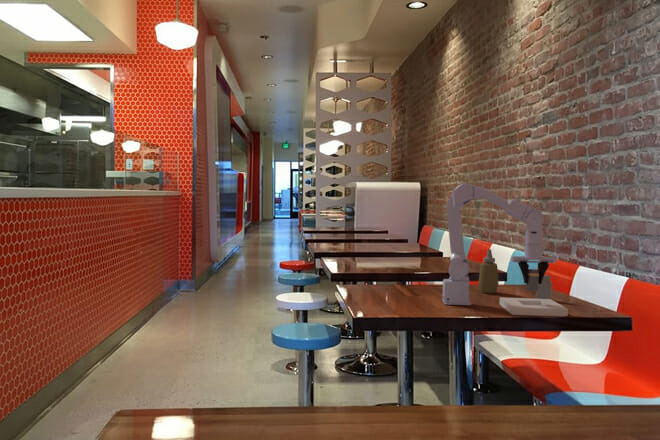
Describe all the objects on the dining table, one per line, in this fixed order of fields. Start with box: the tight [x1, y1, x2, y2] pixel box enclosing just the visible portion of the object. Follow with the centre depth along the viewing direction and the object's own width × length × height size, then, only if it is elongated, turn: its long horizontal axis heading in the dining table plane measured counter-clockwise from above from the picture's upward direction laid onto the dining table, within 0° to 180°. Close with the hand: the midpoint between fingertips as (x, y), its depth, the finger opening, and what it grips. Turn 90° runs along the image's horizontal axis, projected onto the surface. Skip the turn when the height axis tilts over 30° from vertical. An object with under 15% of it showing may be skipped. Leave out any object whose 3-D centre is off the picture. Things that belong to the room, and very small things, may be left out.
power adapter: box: [535, 274, 553, 300], centre depth 206 cm, size 3×5×12 cm, turn 58°
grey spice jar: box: [525, 268, 539, 292], centre depth 187 cm, size 4×4×7 cm
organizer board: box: [499, 297, 569, 317], centre depth 187 cm, size 18×18×2 cm
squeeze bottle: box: [478, 248, 500, 295], centre depth 221 cm, size 8×8×18 cm
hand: (532, 283), depth 186 cm, fingers closed on grey spice jar, 4 cm apart
